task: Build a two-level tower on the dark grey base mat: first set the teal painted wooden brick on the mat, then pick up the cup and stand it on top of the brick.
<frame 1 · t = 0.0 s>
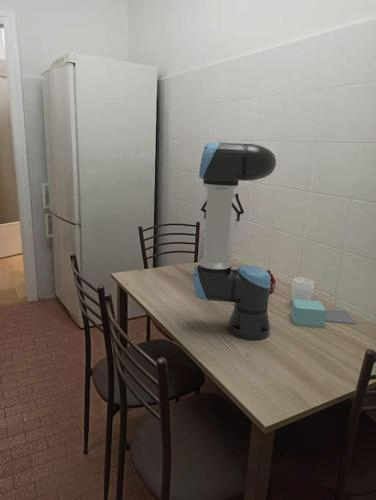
hand: (221, 227, 173), 28 cm above the table, tool pointing down, fingers open, 13 cm apart
cup: (299, 307, 155), on the table
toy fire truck: (261, 291, 171), on the table
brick: (306, 321, 142), on the table
base mat: (335, 316, 147), on the table
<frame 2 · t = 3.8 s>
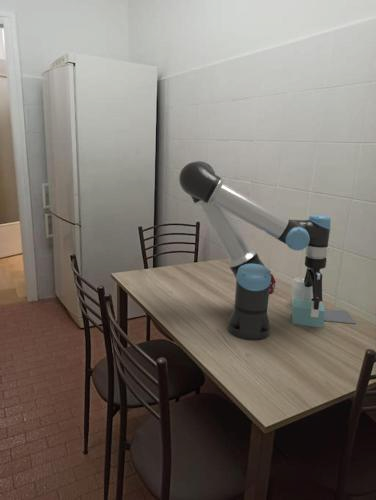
hand: (310, 309, 140), 5 cm above the table, tool pointing down, fingers open, 13 cm apart
cup: (299, 307, 155), on the table, touching gripper
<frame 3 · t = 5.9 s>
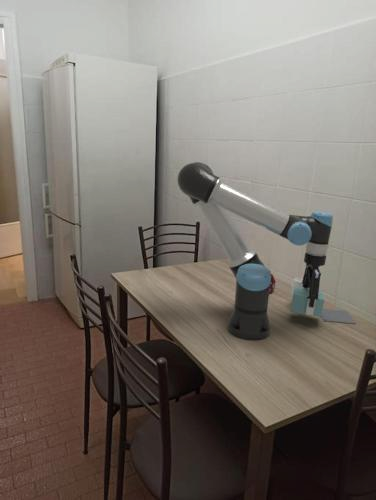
hand: (306, 308, 140), 5 cm above the table, tool pointing down, fingers closed on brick, 10 cm apart
cup: (299, 307, 155), on the table
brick: (305, 309, 141), point 4 cm above the table, touching gripper
everything else where it was.
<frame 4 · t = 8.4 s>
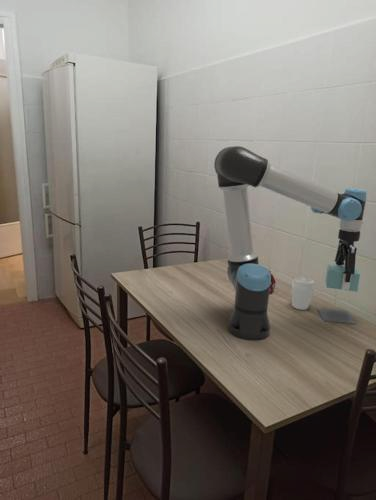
hand: (341, 284, 144), 14 cm above the table, tool pointing down, fingers closed on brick, 10 cm apart
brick: (340, 285, 144), point 13 cm above the table, touching gripper
everything else where it was.
when the fingers open (1 cm above the table, at t = 11.0 s): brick stays where it is, resting on base mat.
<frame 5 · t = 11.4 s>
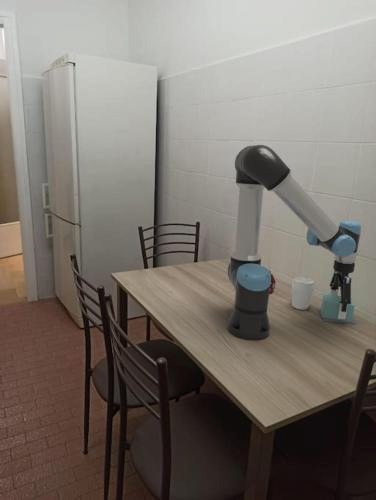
hand: (336, 311, 146), 2 cm above the table, tool pointing down, fingers open, 13 cm apart
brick: (335, 315, 147), resting on base mat
everything else where it was.
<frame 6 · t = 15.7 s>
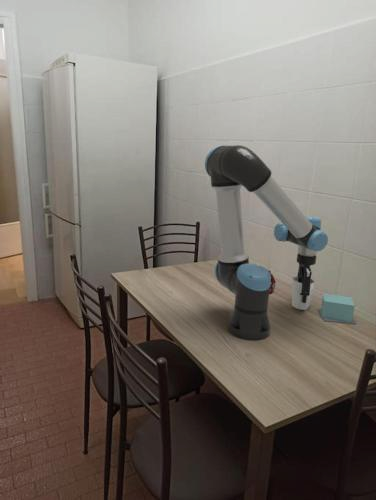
hand: (300, 304, 155), 1 cm above the table, tool pointing down, fingers closed on cup, 9 cm apart
cup: (299, 307, 155), on the table, touching gripper
everything else where it was.
when the fingers open (10 cm above the table, at t = 21.1 s): cup drops 1 cm, resting on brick.
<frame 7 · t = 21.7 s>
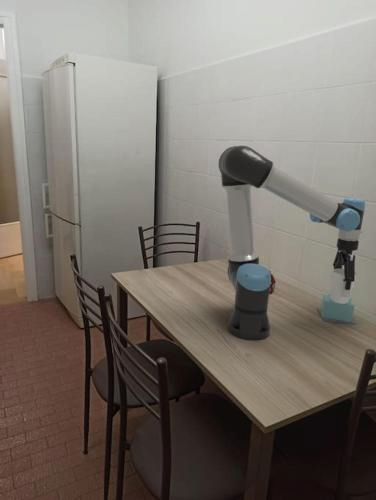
hand: (339, 290, 144), 11 cm above the table, tool pointing down, fingers open, 13 cm apart
cup: (339, 301, 144), point 7 cm above the table, touching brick
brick: (335, 315, 147), resting on base mat, touching cup
everything else where it was.
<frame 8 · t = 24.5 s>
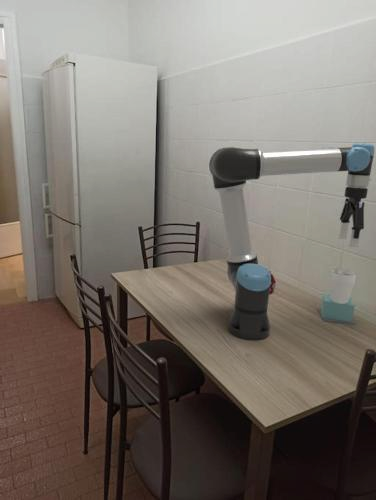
hand: (347, 242, 139), 31 cm above the table, tool pointing down, fingers open, 13 cm apart
nothing on the table moved.
at the end: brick 0.1 cm off-centre on the base mat, point 0.4 cm above the base mat's base; cup 1.5 cm off-centre on the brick, point 6.8 cm above the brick's base; cup tilted 0° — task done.
